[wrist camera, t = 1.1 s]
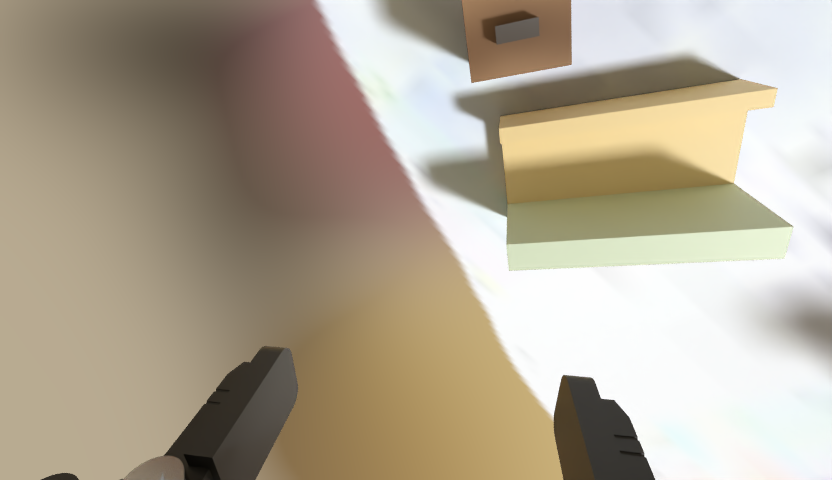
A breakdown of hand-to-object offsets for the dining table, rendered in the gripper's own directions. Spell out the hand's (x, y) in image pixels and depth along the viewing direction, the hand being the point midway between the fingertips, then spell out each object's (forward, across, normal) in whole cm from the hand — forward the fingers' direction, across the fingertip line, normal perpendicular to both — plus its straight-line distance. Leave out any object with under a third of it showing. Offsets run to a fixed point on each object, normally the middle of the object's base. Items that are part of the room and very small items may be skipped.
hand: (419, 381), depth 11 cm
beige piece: (+22, -11, -2) cm, 24 cm away
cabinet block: (+22, -4, -10) cm, 24 cm away
